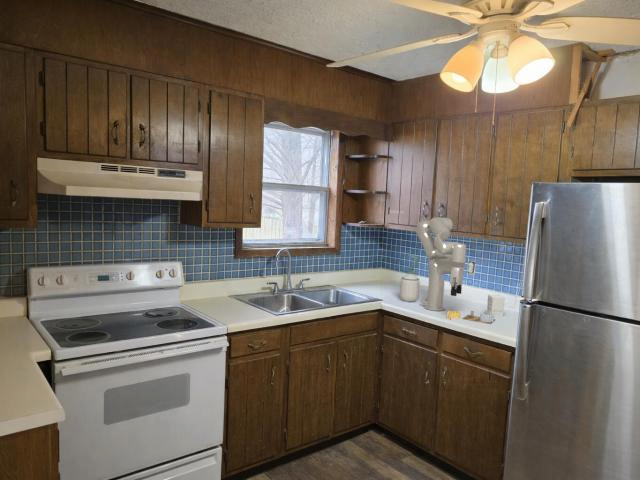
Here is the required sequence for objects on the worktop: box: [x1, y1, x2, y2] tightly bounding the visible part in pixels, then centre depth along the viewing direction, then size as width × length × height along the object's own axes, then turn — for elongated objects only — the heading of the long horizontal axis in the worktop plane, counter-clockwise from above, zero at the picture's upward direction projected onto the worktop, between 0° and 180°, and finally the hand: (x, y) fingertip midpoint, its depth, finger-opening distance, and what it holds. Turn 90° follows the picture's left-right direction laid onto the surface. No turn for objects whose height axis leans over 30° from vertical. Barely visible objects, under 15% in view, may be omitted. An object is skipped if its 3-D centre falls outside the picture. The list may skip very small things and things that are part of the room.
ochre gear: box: [446, 310, 462, 321], centre depth 270 cm, size 7×7×4 cm
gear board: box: [461, 310, 496, 325], centre depth 268 cm, size 16×13×7 cm
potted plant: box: [399, 253, 421, 303], centre depth 312 cm, size 12×12×31 cm
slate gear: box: [479, 311, 495, 323], centre depth 266 cm, size 7×7×4 cm
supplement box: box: [486, 294, 505, 318], centre depth 280 cm, size 7×7×13 cm
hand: (455, 294), depth 269 cm, fingers open, 9 cm apart
